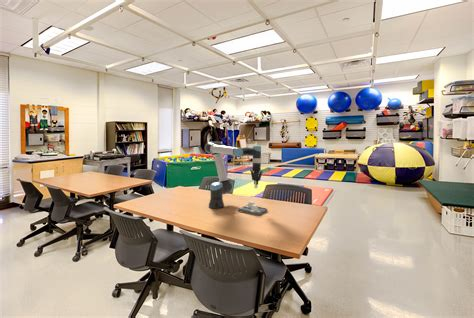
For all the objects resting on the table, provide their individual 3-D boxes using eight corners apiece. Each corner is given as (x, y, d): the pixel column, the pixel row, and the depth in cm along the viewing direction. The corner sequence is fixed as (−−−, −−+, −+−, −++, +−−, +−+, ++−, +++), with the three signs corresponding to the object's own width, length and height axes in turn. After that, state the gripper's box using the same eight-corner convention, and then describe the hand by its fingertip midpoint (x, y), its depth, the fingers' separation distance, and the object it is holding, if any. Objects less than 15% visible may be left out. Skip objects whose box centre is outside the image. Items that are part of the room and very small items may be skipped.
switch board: (237, 211, 226) (237, 208, 225) (247, 207, 239) (247, 204, 238) (258, 215, 213) (258, 212, 213) (267, 211, 226) (267, 208, 225)
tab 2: (251, 210, 220) (251, 205, 219) (253, 209, 223) (253, 204, 222) (255, 211, 217) (255, 206, 217) (257, 210, 221) (257, 205, 220)
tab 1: (248, 207, 230) (248, 202, 230) (250, 206, 233) (250, 201, 233) (252, 208, 228) (252, 202, 227) (254, 207, 231) (254, 201, 231)
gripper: (248, 162, 225) (247, 187, 228) (260, 163, 218) (259, 189, 220) (252, 161, 231) (252, 186, 234) (264, 162, 224) (264, 188, 226)
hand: (255, 187), depth 227 cm, fingers closed
